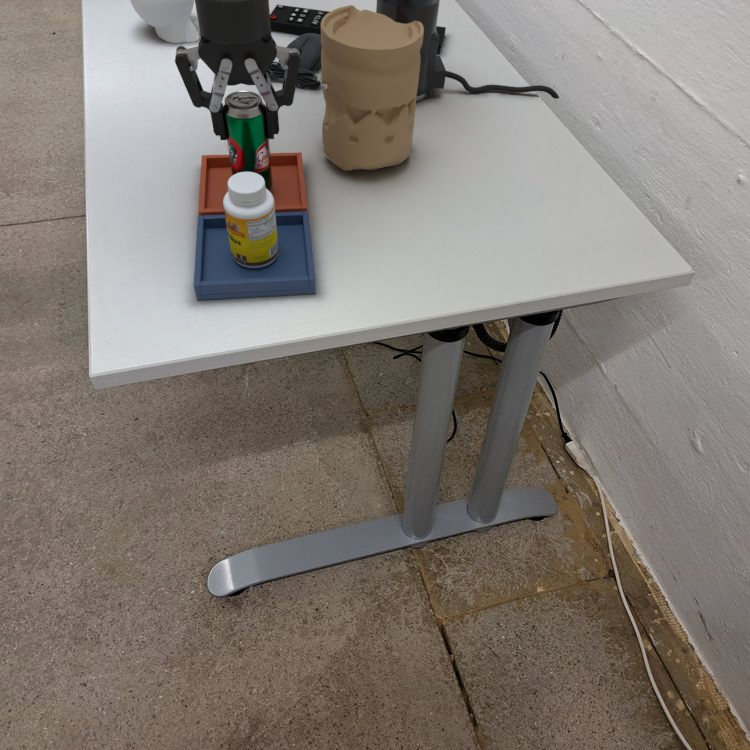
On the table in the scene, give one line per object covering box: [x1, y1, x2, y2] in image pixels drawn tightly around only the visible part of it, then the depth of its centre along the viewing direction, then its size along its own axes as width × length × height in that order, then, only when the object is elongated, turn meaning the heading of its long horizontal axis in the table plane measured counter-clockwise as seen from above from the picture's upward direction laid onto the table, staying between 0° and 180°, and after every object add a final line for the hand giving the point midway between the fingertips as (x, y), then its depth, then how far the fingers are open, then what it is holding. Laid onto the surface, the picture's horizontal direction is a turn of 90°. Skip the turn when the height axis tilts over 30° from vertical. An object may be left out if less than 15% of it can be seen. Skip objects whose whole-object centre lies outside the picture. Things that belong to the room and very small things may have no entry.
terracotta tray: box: [197, 152, 309, 216], centre depth 84 cm, size 13×12×2 cm
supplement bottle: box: [223, 172, 278, 268], centre depth 72 cm, size 6×6×10 cm
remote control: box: [270, 4, 447, 56], centre depth 115 cm, size 8×32×2 cm, turn 79°
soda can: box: [223, 90, 273, 190], centre depth 79 cm, size 5×5×12 cm
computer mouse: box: [267, 33, 322, 90], centre depth 106 cm, size 10×15×4 cm
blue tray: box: [193, 210, 317, 301], centre depth 76 cm, size 13×12×2 cm
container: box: [320, 4, 424, 172], centre depth 84 cm, size 13×13×18 cm
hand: (247, 135), depth 78 cm, fingers closed on soda can, 5 cm apart
